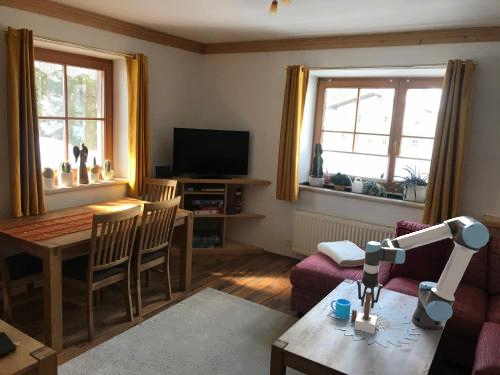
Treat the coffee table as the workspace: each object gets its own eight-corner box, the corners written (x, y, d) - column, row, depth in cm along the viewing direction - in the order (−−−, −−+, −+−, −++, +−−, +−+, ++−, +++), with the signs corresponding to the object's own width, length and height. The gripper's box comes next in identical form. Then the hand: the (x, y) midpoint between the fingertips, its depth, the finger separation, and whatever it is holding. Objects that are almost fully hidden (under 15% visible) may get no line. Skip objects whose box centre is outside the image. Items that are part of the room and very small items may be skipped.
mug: (352, 315, 227) (353, 302, 226) (344, 320, 221) (346, 306, 220) (334, 308, 235) (335, 295, 234) (326, 312, 229) (327, 299, 228)
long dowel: (368, 318, 215) (371, 292, 212) (368, 320, 212) (370, 293, 210) (363, 317, 216) (366, 291, 213) (363, 319, 213) (365, 292, 211)
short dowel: (356, 320, 222) (357, 310, 221) (355, 322, 220) (356, 312, 219) (351, 319, 223) (352, 309, 222) (350, 321, 221) (351, 311, 220)
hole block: (376, 325, 217) (377, 316, 217) (374, 333, 208) (374, 324, 208) (357, 320, 221) (358, 312, 221) (354, 329, 212) (355, 320, 212)
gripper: (387, 271, 210) (382, 313, 214) (356, 265, 216) (353, 306, 220) (385, 276, 203) (381, 319, 207) (354, 270, 209) (350, 312, 213)
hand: (366, 312), depth 213 cm, fingers closed on long dowel, 2 cm apart
